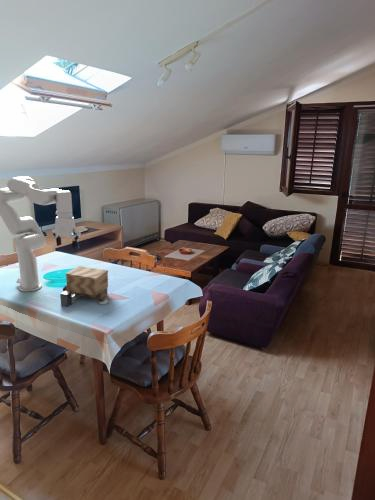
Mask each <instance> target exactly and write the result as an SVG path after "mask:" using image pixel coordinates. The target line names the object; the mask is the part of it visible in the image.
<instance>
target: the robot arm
mask: <svg viewBox="0 0 375 500" xmlns="http://www.w3.org/2000/svg"><path fill="white" fill-rule="evenodd" d="M6 186H7V187H1V188H0V217H1V220H2V221H3V223H4V224H5V226H6V229H8V232H9V233H10V234H11V235H12V236H13V237H16V236H17V238H16V239H15V241H14V247H15V251H16V253H17V259H18V267H19V268H18V269H19V275H20V277H19V278H17V280H16V281H15V282H16V284H19V286H18V290H19V291H21V292H27V293H28V292H29V293H30V292H34V291H37V290H40V289H41V288H42V287H43V285H42V283H41V282H40V281H39V271H38V262H37V261H38V260H37V256H36V255H35V254H34V252H33V251H36V250H40V249H42V248H44V247H45V245H46V244H47V243H46V242H47V240H46V237H45V235H44V233H43V231H42V229H41V228H40V226H39V225H38V224H39V223H38V222H37V220H36V219H34V218H33V217H31V216H23V217H21V216H20V215H19V213H18V212H17V210H16V209H15V208H14V207H12V206H11V205H10V203H16V202H21V201H23V200H24V199H26V197H27V200H29V202H31V203H33V204H36V205H40V206H48V205H52V204H54V205H56V211H55V215H57V216H56V217H55V221H54V228H51V230H50V231H51V232H52V235H53V236H54V238H55V241H56V242H55V244H56V246H57V247H59V246H61V245H62V237H63V238H64V237H65V238H71V240H72V241H71V243H72V246H71V247H72V248H73V249H75V248H77V247H78V240H79V239H80V237H81V235H82V233H81V231H79V230H78V229H77V228H76V221H75V217H74V215H73V203H72V192H71V191H70V190H64V189H63V190H62V189H59V188H49V189H39V185H38V183H36V182H35V180H34V179H33V177H32V178H31V177H30V176H15V177H11V178H10V179H8V181H7V183H6ZM18 236H19V237H18Z"/></svg>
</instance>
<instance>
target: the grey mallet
mask: <svg viewBox="0 0 375 500" xmlns="http://www.w3.org/2000/svg"><path fill="white" fill-rule="evenodd" d="M59 295H60V306H61V307H65V306H66V307H65V308H68V307H70V306H71V305H73V302H74V303H75V301H77V300H78V299H79V298H81V296H80V294H78V293H76V294H71V292H69V291H64V292H63V291H62V292H60V294H59ZM69 305H70V306H69Z"/></svg>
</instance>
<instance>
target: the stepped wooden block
mask: <svg viewBox="0 0 375 500" xmlns="http://www.w3.org/2000/svg"><path fill="white" fill-rule="evenodd" d="M108 275H109V270H108V269H107V270H106V269H101V268H94V267H89V266H81V265H79V266H77V267H75V268H73V269H70V270H69V271H68V272H65V278H66V279H65V280H66V281H65V282H66V286H67V291H73V292H75V294H76V293H78V294H80V297H84V298H90V299H96V300H101V299H105V297H106V296H108V288H109V276H108ZM75 294H74V295H75Z"/></svg>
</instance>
